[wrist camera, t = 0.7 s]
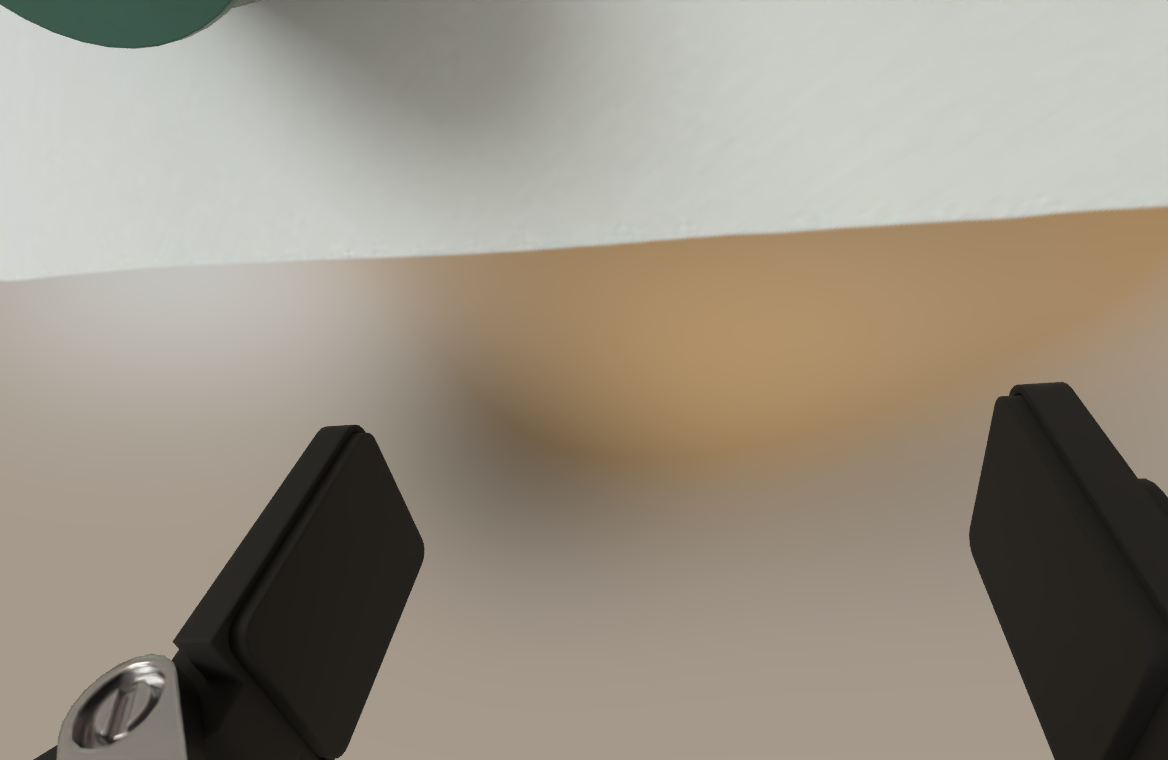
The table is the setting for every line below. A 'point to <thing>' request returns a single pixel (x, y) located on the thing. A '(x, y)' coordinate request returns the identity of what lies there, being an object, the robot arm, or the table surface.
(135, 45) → the lid
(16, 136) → the table surface
